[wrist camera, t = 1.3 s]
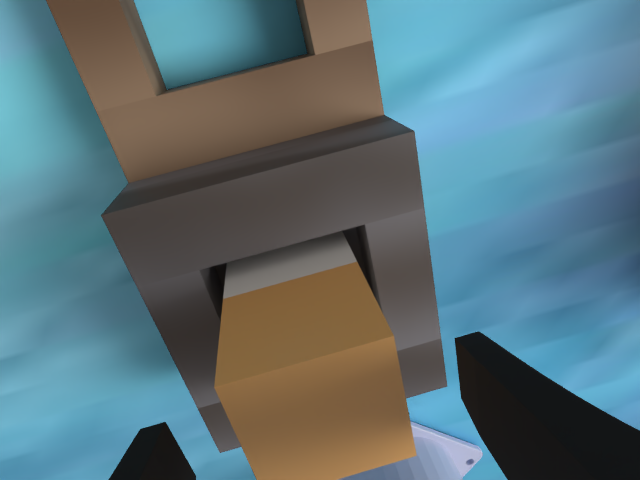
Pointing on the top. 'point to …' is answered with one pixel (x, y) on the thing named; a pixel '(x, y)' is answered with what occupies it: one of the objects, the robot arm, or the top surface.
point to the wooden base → (257, 180)
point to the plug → (310, 365)
